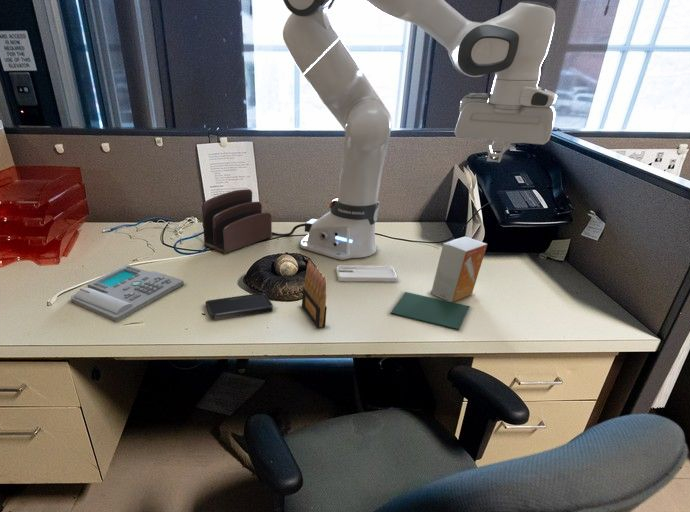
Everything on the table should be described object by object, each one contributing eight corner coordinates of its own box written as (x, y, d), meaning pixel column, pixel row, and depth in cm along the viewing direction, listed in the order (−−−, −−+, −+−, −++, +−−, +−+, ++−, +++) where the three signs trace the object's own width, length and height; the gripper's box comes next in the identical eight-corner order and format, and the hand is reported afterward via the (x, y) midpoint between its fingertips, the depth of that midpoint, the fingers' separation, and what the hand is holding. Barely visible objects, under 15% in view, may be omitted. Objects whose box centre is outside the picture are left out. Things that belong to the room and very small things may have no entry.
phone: (274, 307, 110) (211, 316, 107) (273, 311, 111) (211, 320, 108) (264, 292, 116) (204, 300, 113) (264, 296, 117) (204, 304, 114)
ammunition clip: (325, 327, 104) (330, 277, 97) (317, 328, 104) (321, 278, 97) (308, 305, 113) (312, 258, 106) (301, 306, 112) (304, 258, 105)
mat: (390, 314, 109) (390, 312, 109) (405, 293, 117) (405, 291, 117) (458, 330, 102) (458, 329, 102) (468, 307, 111) (469, 306, 110)
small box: (451, 303, 112) (466, 251, 105) (430, 293, 117) (442, 242, 109) (472, 294, 116) (488, 243, 108) (451, 285, 120) (464, 235, 112)
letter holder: (203, 245, 145) (200, 198, 136) (250, 229, 155) (250, 185, 147) (224, 254, 139) (222, 206, 130) (272, 237, 149) (273, 191, 141)
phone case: (338, 281, 123) (396, 282, 122) (339, 276, 122) (397, 277, 121) (335, 269, 129) (391, 270, 128) (336, 265, 128) (392, 265, 127)
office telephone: (115, 313, 106) (59, 290, 116) (117, 323, 108) (62, 300, 117) (183, 275, 121) (128, 258, 131) (184, 284, 123) (130, 267, 132)
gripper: (460, 93, 107) (445, 159, 115) (563, 98, 98) (539, 168, 106) (465, 91, 111) (451, 154, 119) (564, 95, 102) (541, 163, 110)
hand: (493, 161), depth 113 cm, fingers closed
